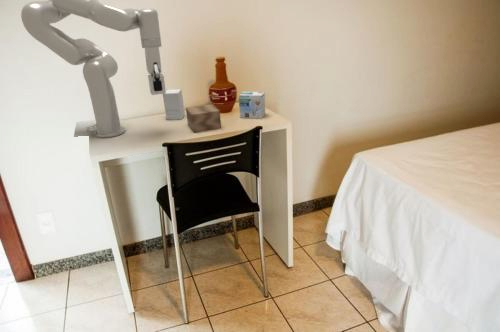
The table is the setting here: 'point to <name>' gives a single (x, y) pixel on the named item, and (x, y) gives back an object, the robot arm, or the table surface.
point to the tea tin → (150, 78)
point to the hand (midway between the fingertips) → (157, 88)
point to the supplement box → (174, 104)
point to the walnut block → (203, 118)
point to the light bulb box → (252, 104)
